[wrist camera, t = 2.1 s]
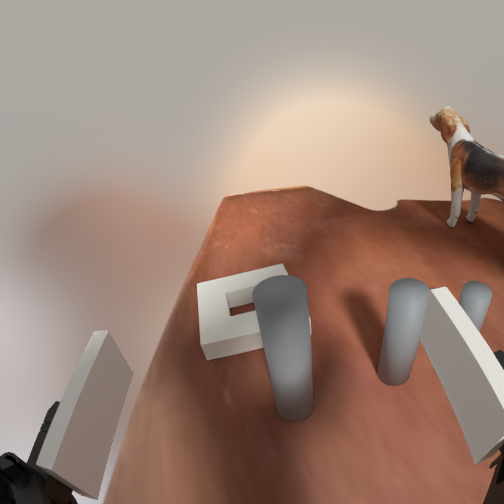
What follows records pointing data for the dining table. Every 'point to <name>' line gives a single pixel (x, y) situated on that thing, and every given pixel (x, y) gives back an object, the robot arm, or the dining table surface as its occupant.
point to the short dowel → (475, 301)
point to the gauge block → (219, 317)
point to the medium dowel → (402, 329)
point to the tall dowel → (286, 343)
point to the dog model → (468, 164)
